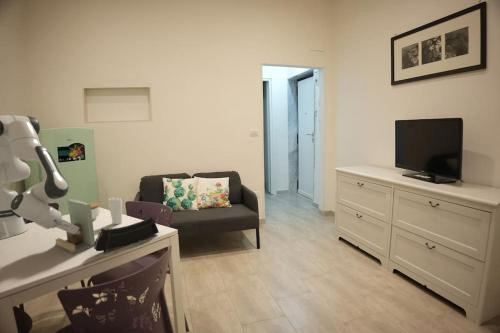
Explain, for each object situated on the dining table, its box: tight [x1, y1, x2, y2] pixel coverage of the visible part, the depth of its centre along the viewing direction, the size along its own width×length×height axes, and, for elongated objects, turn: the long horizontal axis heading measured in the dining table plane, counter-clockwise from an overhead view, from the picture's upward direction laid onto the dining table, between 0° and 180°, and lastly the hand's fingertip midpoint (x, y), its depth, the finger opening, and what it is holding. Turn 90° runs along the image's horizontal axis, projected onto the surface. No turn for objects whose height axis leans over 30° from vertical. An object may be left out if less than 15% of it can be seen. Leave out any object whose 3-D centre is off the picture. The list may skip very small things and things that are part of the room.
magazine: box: [93, 215, 160, 253], centre depth 137 cm, size 17×3×30 cm
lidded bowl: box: [86, 201, 101, 221], centre depth 174 cm, size 13×13×11 cm
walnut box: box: [65, 223, 84, 244], centre depth 136 cm, size 6×5×8 cm
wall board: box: [54, 198, 96, 255], centre depth 135 cm, size 10×18×21 cm, turn 57°
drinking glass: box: [108, 196, 123, 225], centre depth 166 cm, size 7×7×15 cm
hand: (75, 231), depth 137 cm, fingers closed on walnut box, 5 cm apart
